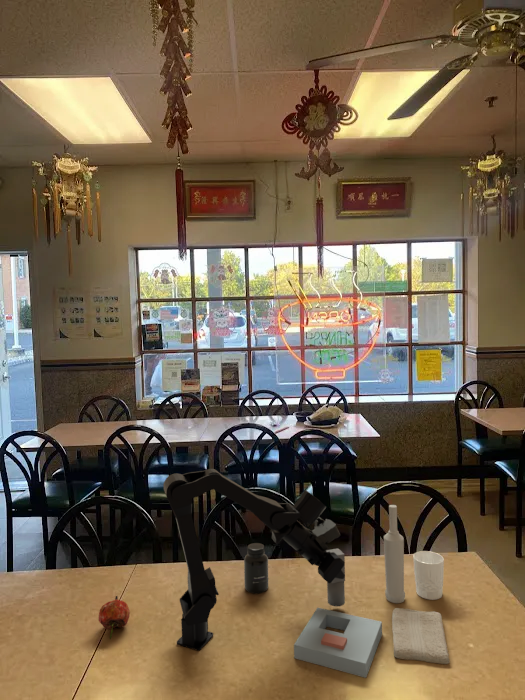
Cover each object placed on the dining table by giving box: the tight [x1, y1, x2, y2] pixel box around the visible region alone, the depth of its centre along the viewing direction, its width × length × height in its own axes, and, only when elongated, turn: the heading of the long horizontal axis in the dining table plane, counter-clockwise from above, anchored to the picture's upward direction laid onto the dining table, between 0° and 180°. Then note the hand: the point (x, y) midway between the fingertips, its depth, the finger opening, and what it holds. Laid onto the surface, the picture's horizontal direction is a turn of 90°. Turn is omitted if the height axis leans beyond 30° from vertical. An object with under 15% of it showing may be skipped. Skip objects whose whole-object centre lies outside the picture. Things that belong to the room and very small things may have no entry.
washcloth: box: [391, 607, 451, 665], centre depth 113 cm, size 12×18×3 cm, turn 167°
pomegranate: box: [98, 595, 131, 640], centre depth 120 cm, size 7×7×10 cm
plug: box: [326, 548, 346, 607], centre depth 126 cm, size 4×4×13 cm
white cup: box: [412, 550, 445, 601], centre depth 132 cm, size 8×8×10 cm
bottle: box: [383, 504, 406, 604], centre depth 130 cm, size 5×5×25 cm
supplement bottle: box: [243, 542, 269, 594], centre depth 138 cm, size 7×7×12 cm
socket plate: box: [293, 607, 383, 679], centre depth 111 cm, size 16×16×4 cm
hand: (340, 573), depth 126 cm, fingers closed on plug, 4 cm apart
